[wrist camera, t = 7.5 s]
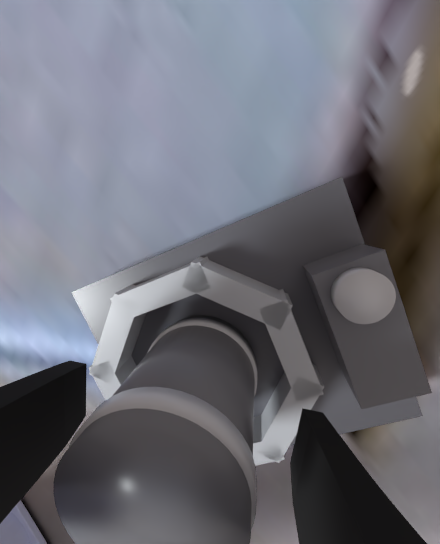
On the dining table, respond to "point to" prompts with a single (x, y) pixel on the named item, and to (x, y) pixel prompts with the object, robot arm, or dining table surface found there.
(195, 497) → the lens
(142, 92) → the dining table surface
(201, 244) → the grey base plate
